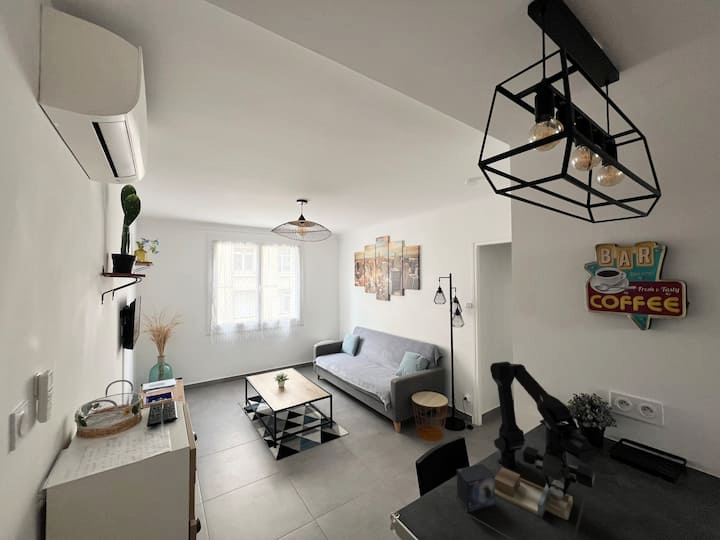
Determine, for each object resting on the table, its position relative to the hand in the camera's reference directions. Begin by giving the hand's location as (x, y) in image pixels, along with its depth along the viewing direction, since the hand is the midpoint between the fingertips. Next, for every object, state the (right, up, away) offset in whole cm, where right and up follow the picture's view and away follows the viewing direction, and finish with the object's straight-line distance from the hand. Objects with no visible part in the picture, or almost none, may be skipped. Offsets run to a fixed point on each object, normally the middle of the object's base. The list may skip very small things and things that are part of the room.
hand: (557, 491), depth 95 cm
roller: (0, 0, 0) cm, 0 cm away
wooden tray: (-7, -5, +4) cm, 9 cm away
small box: (-25, -6, +2) cm, 26 cm away
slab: (-12, -5, +9) cm, 15 cm away
